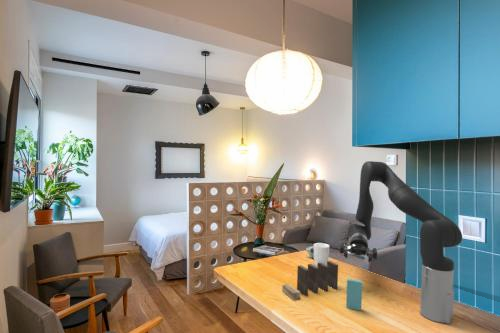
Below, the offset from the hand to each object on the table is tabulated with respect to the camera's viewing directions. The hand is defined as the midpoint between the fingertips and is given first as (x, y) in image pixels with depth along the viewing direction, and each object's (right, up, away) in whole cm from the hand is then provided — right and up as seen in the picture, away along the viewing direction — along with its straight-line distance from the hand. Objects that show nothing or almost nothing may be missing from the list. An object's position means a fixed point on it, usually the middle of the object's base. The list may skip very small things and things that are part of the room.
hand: (357, 257), depth 116 cm
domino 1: (-21, -15, +2) cm, 26 cm away
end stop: (-26, -14, 0) cm, 30 cm away
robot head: (-8, -14, +44) cm, 47 cm away
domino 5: (-5, -15, -9) cm, 19 cm away
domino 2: (-17, -15, +4) cm, 23 cm away
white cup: (-6, -15, +35) cm, 39 cm away
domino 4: (-8, -15, +9) cm, 19 cm away
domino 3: (-12, -15, +6) cm, 20 cm away
